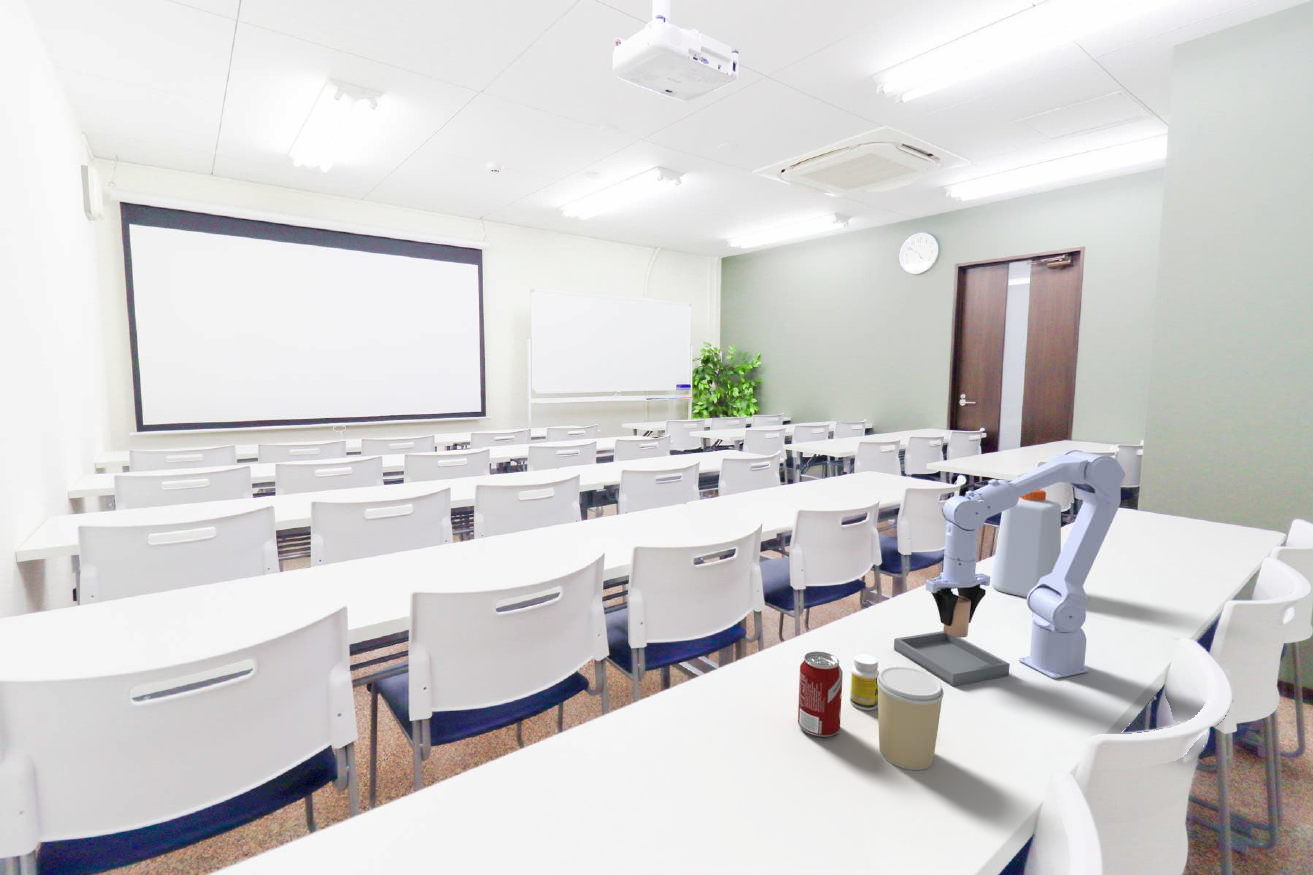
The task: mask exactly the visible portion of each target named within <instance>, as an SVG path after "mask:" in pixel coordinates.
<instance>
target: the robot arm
mask: <svg viewBox="0 0 1313 875" xmlns="http://www.w3.org/2000/svg"><path fill="white" fill-rule="evenodd" d="M1126 475H1127V474H1126V472H1125V471H1124V468H1123V467H1122V466H1121V464H1120V462H1119V461H1118V460H1117V459H1116V458H1114V457H1112V456H1109V455H1103V454H1096V453H1091V452H1086V451H1082V450H1078V449H1071V450H1067V451H1066V452H1064V453H1063V454H1062V453H1061V454H1058V455H1055V456H1054V457H1053V458H1052V459H1051V460H1050V461H1047V462H1045V463H1044V464H1042V465H1040V466H1038V467H1036V468H1034V469H1032V470H1029V471H1027V472H1026V473H1023V474H1022V475H1020V476H1019V477H1016V478H1014V479H1012V480H1009V481H1007V480H1005V479H995V478H992V479H990V480H988V481H987V483H988V484H986V485H984V486H982V487H980V488H978V489H976V490H973V491H972V490H968V491H966V492H965V494H964V495H953V496H951V497H950V498H948V499H947V500H946V502H945V503H944V505H943V507H941V511H940V512H941V516H942V517H943V519H945V521H946V522H945V523H946V524H945V534H944V535H945V537H944V538H945V539H944V550H943V551H944V553H943V554H944V555H943V570H942V572H940V574H939V576H936V577H934V578H931V579H928V580H925V590H926V591H928V592H930V593H931V595H932V596H933V599H934V601H935V603H936V607H937V610H938V614H939V620H940V623H941V624H943V625H944V624H945V625H947V626H951V625H952V621H953V613H954V608H955V605H956V603H957V600H958V599H959V596H963V597H966V598H968V599H969V600H971V607H970V617H969V624H971V622H972V619H973V616H974V615H975V612H976V609H977V607H978V606H979V603H980V602H981V601H982V599H983V598H984V597H985V596H986V589H985V588H982V587H981V586H985V587H988V586H990V585H991V576H990V575H988V574H984V573H976V567H977V553H978V538H979V529H981V527H983V525H984V524H985V523H986V520H987V519H989V518H991V517H994V516H996V515H998V514H1001V513H1002V511H1005V510H1007V509H1009V508H1012V507H1014V506H1016V505H1017V503H1018V500H1019V498H1020V497H1021V496H1024V495H1026V494H1029V493H1032V492H1034V491H1037V490H1043V489H1044V488H1047V487H1050V486H1053V485H1055V484H1057V483H1058V484H1059V483H1067V484H1070V485H1071V486H1072V487H1073V488H1074V489H1075V490H1076V492H1077V493H1078V495H1079V497H1080V498H1081V500H1082V504H1081V506H1080V508H1079V511H1078V513H1077V515H1076V517H1075V520H1074V521H1073V522H1074V523H1073V525H1072V526H1071V529H1070V531H1069V533H1068V535H1067V538H1066V540H1065V543H1064V544H1063V546H1062V548H1061V553H1060V555H1059V558H1058V560H1057V562H1056V564H1055V566H1054V569H1053V571H1052V573H1050V574H1048V575H1046V576H1043V577H1041V578H1040V580H1039V582H1038V584H1037V585H1036V586H1035V587H1034V588H1033V589H1031V591H1030V592H1029V593H1028V595H1027V598H1026V605H1027V607H1028V608H1029V610H1030V611H1031V618H1032V624H1031V626H1032V627H1031V638H1030V649H1029V656H1025V657H1023V656H1022V657H1019V658H1018V661H1019V662H1020V663H1022V664H1025V665H1026V666H1028V667H1030V668H1032V669H1034V670H1036V671H1038V672H1041V673H1043V674H1044V675H1046V676H1048V677H1049V678H1052V679H1059V678H1064V677H1069V676H1074V675H1080V674H1084V673H1088V672H1089V669H1088V668H1086V667H1085V661H1086V652H1087V651H1086V650H1087V636H1086V634H1085V632H1084V630H1083V629H1082V627H1083V625H1084V624H1085V622H1086V617H1087V615H1086V614H1087V613H1086V611H1087V606H1088V604H1089V598H1088V595H1087V593H1086V591H1085V588H1084V585H1085V582H1086V581H1087V578H1088V576H1089V574H1090V571H1091V569H1092V568H1093V565H1094V563H1095V560H1096V558H1097V556H1098V553H1099V552H1100V549H1101V547H1102V545H1103V543H1104V540H1105V538H1106V536H1107V534H1108V532H1109V530H1110V527H1111V525H1112V523H1113V520H1114V519H1115V516H1116V515H1117V512H1118V511H1119V508H1120V505H1121V496H1122V494H1121V490H1122V489H1121V485H1122V483H1123V481H1124V479H1125V477H1126ZM954 589H955V590H956V589H957V593H958V594H955V593H954V591H953V590H954Z"/></svg>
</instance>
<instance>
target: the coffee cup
mask: <svg viewBox="0 0 1313 875" xmlns="http://www.w3.org/2000/svg"><path fill="white" fill-rule="evenodd" d="M877 684H878V706H877V708H878V709H877V711H878V713H877V714H878V715H877V716H878V746H879V747H878V748H879V751H880V752H879V753H880V755H881V756H882V757H883V758H884V759H885V760H886V761H887V762H889V763H890V764H892V765H894V766H896V767H899V768H901V769H904V770H910V771H923V770H926V769H928V768H930V767H931V766H932V765H933V762H934V757H935V752H936V744H937V737H938V730H939V724H940V717H941V716H940V715H941V711H942V710H941V709H942V702H943V697H944V694H945V692H944V689H943V687H942V684H941V682H940V681H939V680H938V679H937V678H936V677H935V676H934V675H931V674H929V673H927V672H925V671H922V670H919V669H916V668H911V667H905V666H893V667H891V666H890V667H888V668H884V669H883V670H881V671H880V672H879V676H878V678H877Z"/></svg>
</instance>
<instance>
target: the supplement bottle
mask: <svg viewBox="0 0 1313 875" xmlns="http://www.w3.org/2000/svg"><path fill="white" fill-rule="evenodd" d="M878 669H879V660H878V658H877V657H875V656H873V655H871V654H868V653H867V654H865V653H860V654H856V655H855V656H854V658H853V666H852V667H851V671H850V689H849V690H850V691H849V692H850V693H849V694H850V695H849V702H850V704H851V705H852V706H853V707H855V708H856V709H859V710H862V711H873V710H876V709H877V708H878V684H877V678H878V676H879V675H880V672H879V670H878Z"/></svg>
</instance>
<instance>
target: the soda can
mask: <svg viewBox="0 0 1313 875" xmlns="http://www.w3.org/2000/svg"><path fill="white" fill-rule="evenodd" d="M803 657H804V658H803V661H802V662H801V663H800V666H799V682H798V684H799V685H798V686H799V687H798V703H797V704H798V705H797V706H798V710H797V711H798V713H797V724H798V725H799V727H800V729H801V730H803V731H804V732H806V733H807V734H809V735H811V736H813V737H819V738H828V737H832V736H835V735H837V734H838V733H839V732H840V730H841V719H842V718H841V715H842V696H843V695H842V694H843V693H842V692H843V691H842V690H843V670H842V668H841V667H840V660H839V659H838V658H837V657H836V656H835V655H834V654H831V653H829V652H825V651H810V652H807V653H806V654H805V655H804V656H803Z"/></svg>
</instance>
